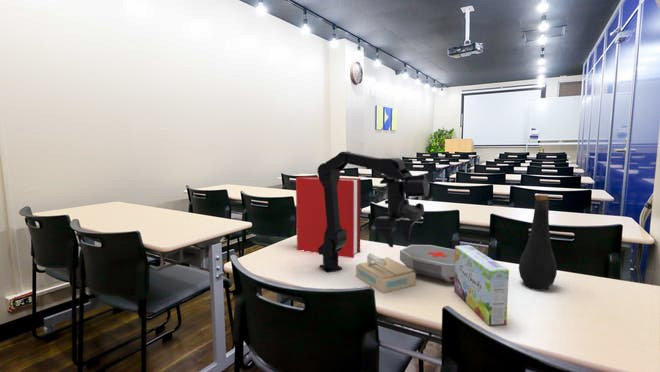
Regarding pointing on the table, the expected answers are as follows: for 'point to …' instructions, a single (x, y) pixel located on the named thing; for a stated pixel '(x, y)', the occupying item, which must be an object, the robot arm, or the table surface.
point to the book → (314, 214)
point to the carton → (383, 278)
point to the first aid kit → (430, 261)
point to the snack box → (482, 284)
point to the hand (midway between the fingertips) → (399, 243)
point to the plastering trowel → (388, 265)
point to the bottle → (539, 250)
